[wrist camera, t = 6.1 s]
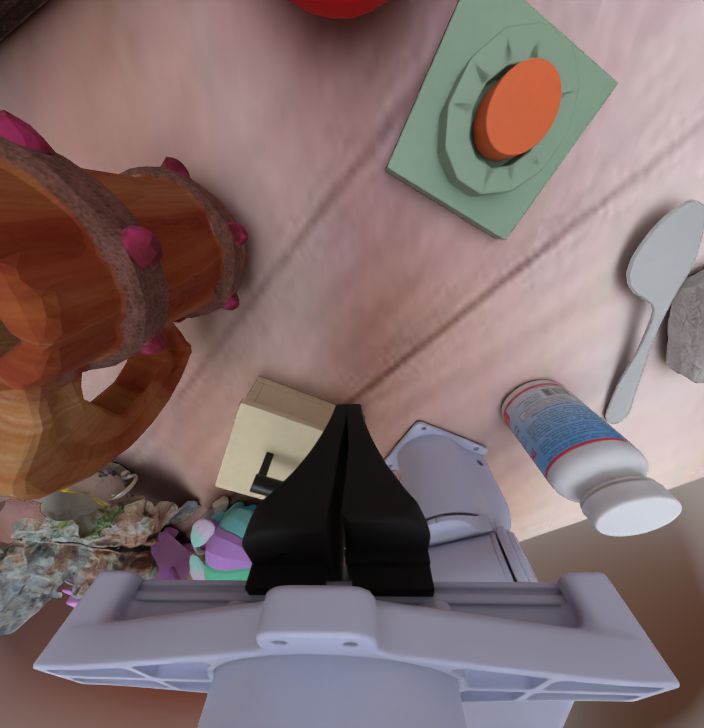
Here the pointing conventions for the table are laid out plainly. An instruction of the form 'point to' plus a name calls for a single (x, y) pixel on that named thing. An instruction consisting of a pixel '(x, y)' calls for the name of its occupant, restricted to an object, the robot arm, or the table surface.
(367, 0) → the tomato
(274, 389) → the cream square box
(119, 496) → the chinaware
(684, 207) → the spoon
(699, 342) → the grey faceted pebble
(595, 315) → the table surface
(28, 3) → the book
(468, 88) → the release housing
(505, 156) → the button
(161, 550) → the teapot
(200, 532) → the toy
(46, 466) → the mug
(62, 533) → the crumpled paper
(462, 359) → the table surface
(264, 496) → the cream square panel
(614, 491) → the pill bottle
